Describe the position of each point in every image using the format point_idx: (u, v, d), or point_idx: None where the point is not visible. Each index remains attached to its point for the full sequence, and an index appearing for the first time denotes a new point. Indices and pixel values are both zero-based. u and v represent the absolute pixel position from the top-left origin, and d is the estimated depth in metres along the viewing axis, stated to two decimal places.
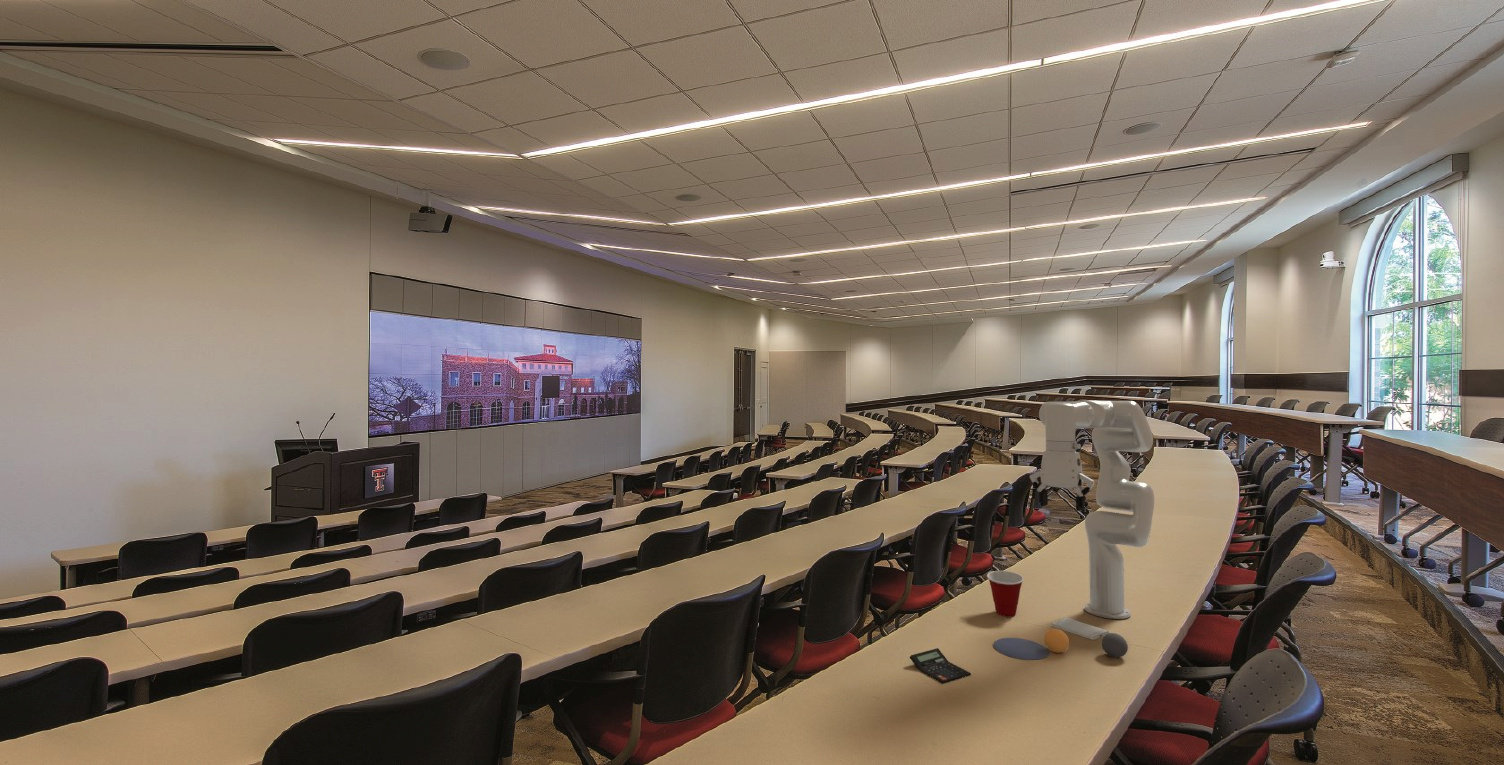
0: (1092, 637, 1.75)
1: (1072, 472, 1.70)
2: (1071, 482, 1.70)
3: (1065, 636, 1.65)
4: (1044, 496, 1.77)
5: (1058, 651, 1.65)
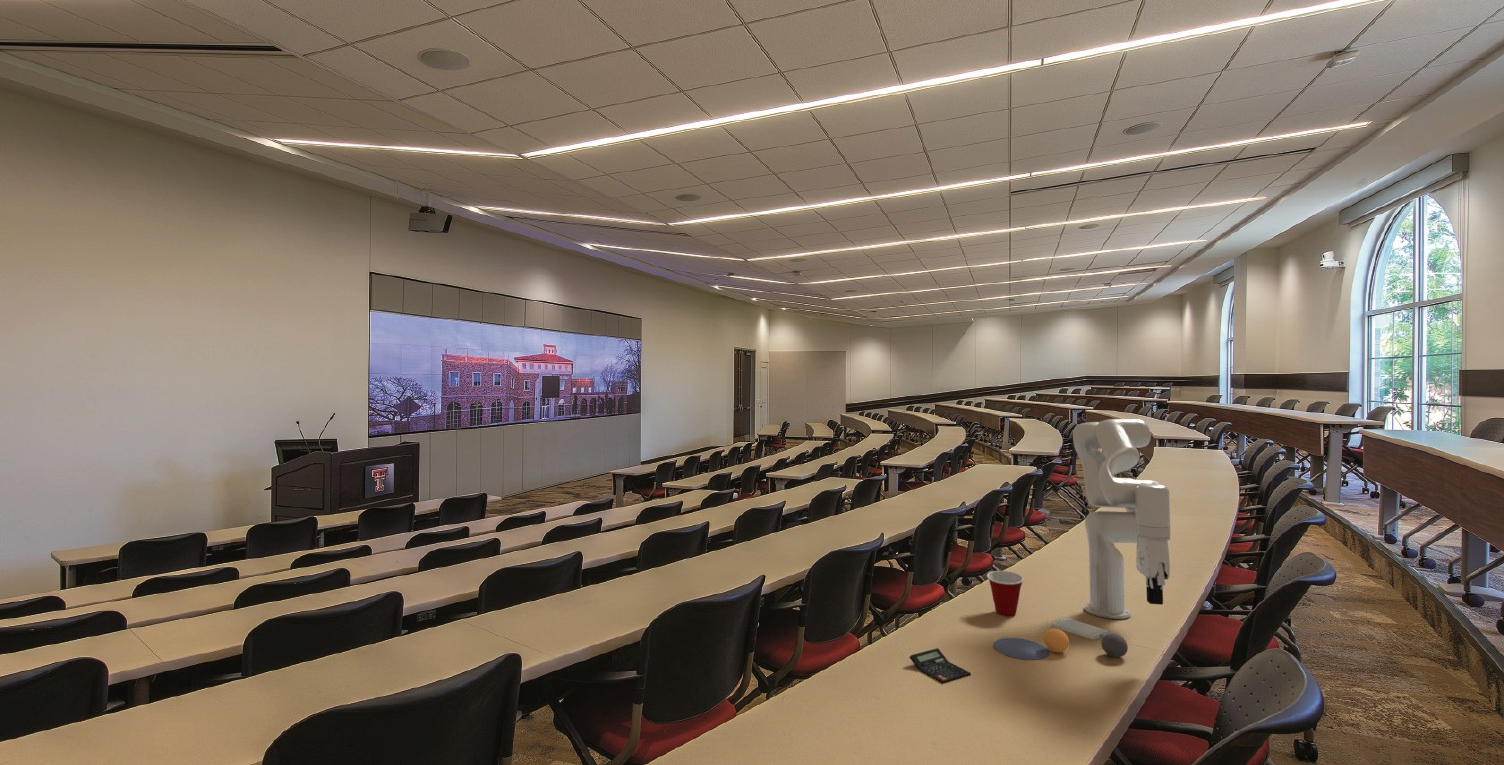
0: (1092, 637, 1.75)
1: None
2: None
3: (1065, 636, 1.65)
4: None
5: (1058, 651, 1.65)
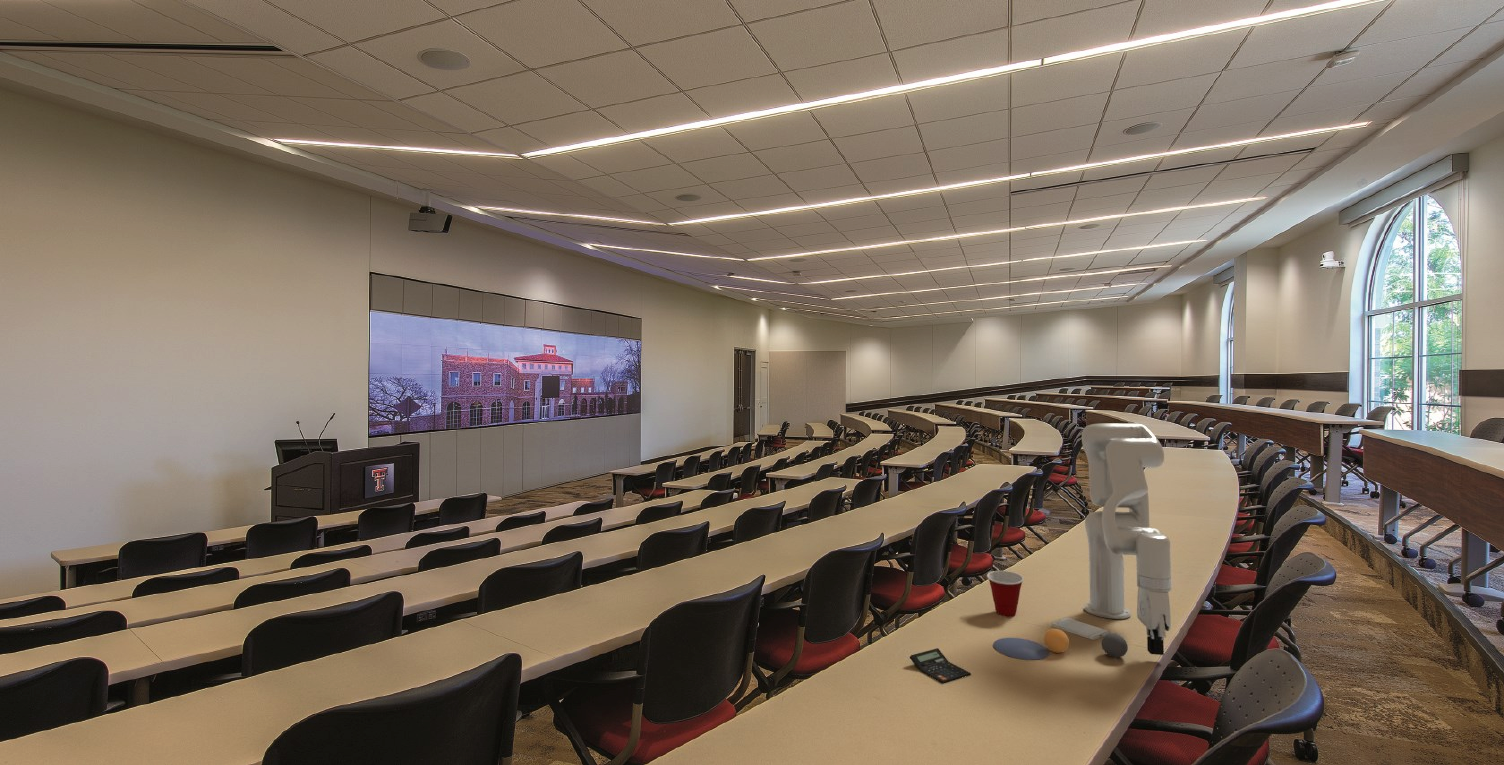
0: (1092, 637, 1.75)
1: None
2: None
3: (1065, 636, 1.65)
4: None
5: (1058, 651, 1.65)
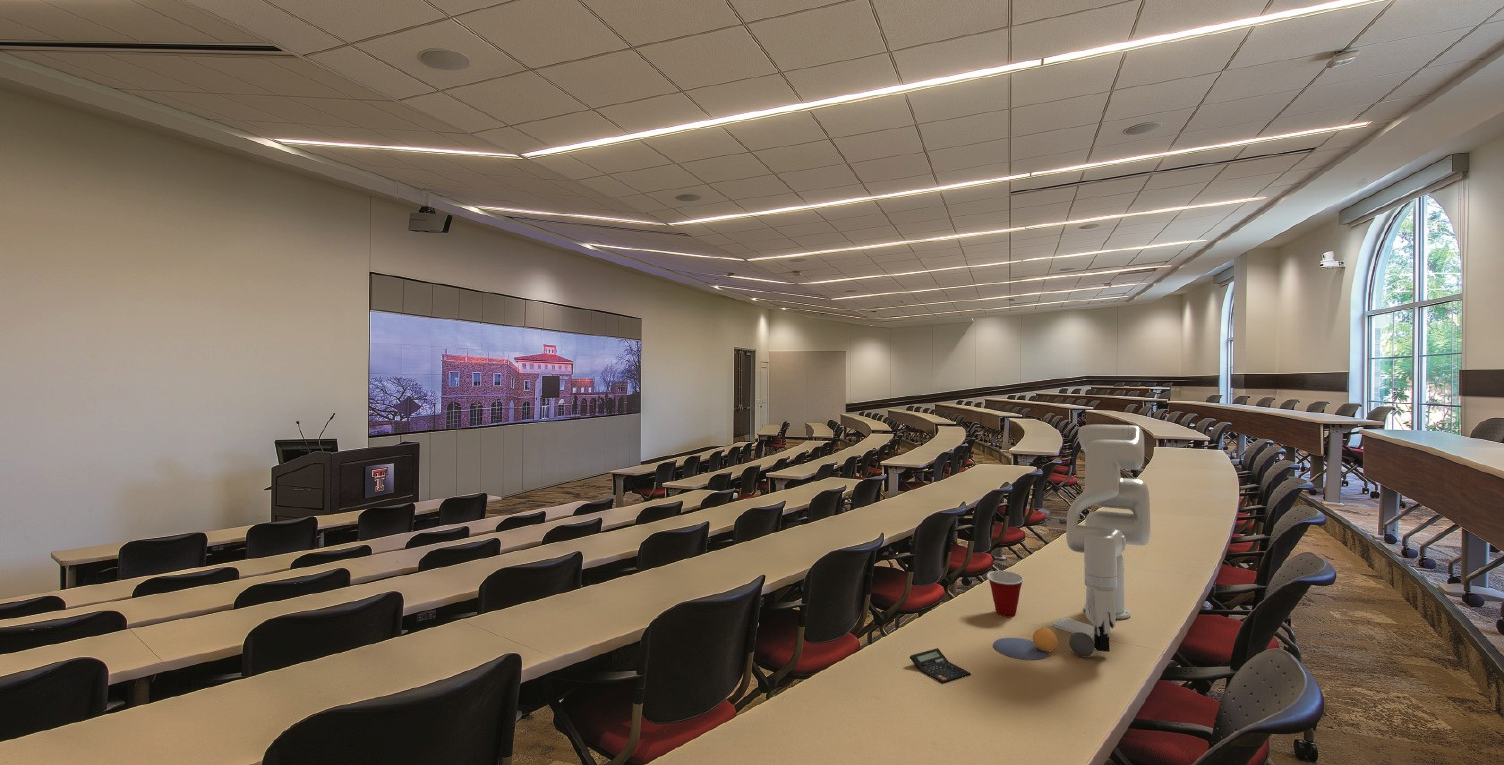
0: (1092, 637, 1.75)
1: None
2: None
3: (1044, 631, 1.66)
4: None
5: (1053, 647, 1.65)
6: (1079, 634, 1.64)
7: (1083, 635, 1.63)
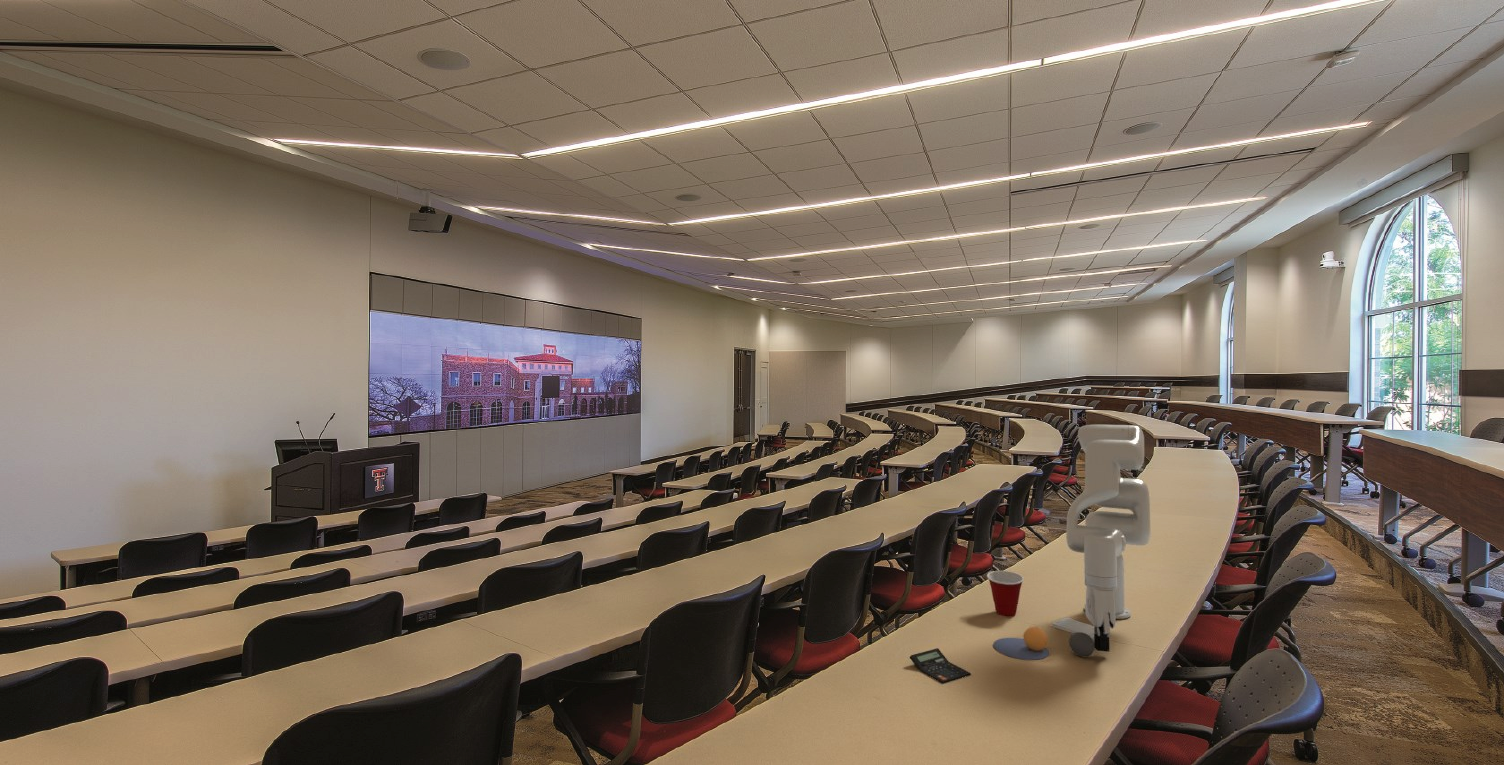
0: (1092, 637, 1.75)
1: None
2: None
3: (1028, 634, 1.67)
4: None
5: (1045, 641, 1.66)
6: (1079, 634, 1.64)
7: (1083, 635, 1.63)
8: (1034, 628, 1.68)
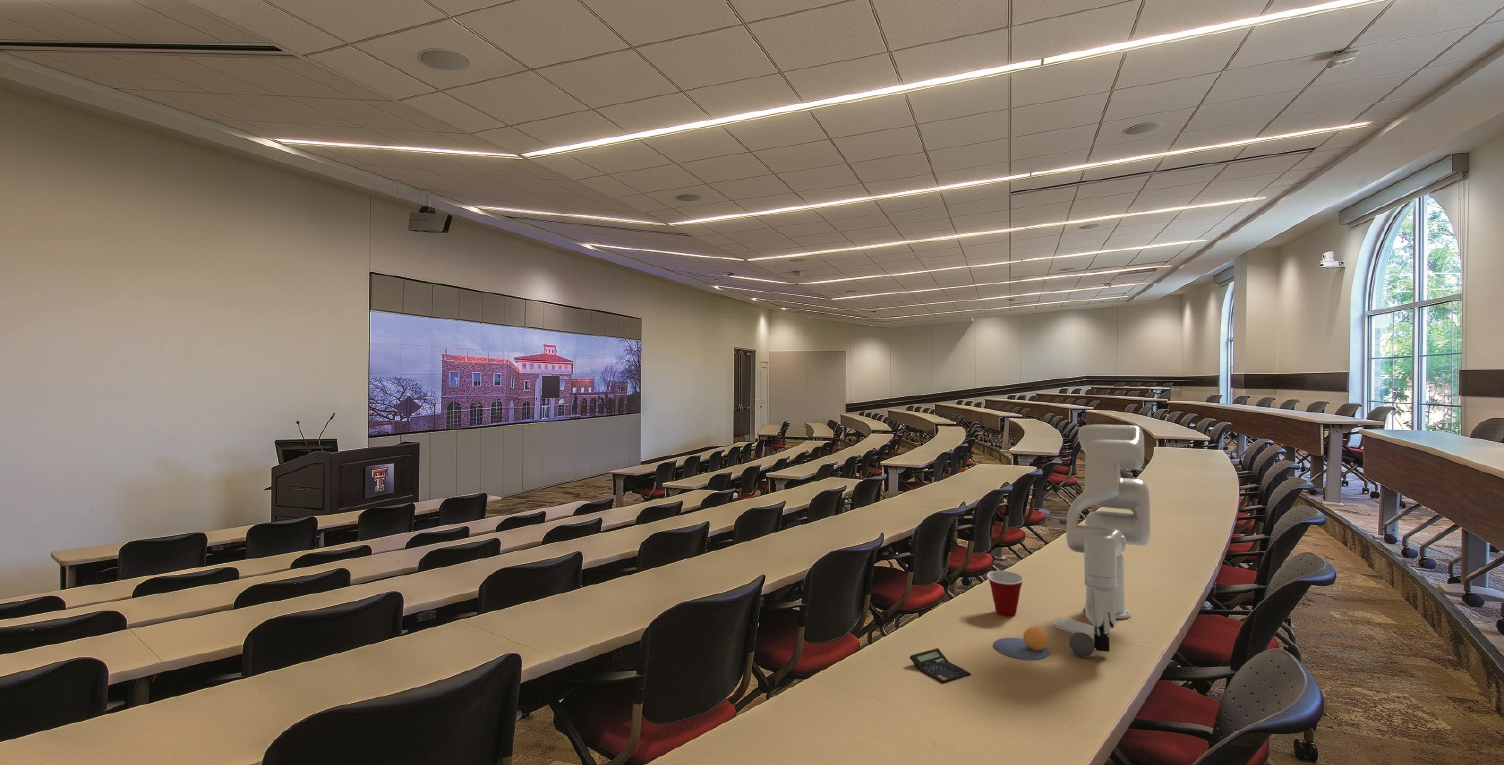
0: (1092, 637, 1.75)
1: None
2: None
3: (1028, 634, 1.67)
4: None
5: (1045, 641, 1.66)
6: (1079, 634, 1.64)
7: (1083, 635, 1.63)
8: (1034, 628, 1.68)
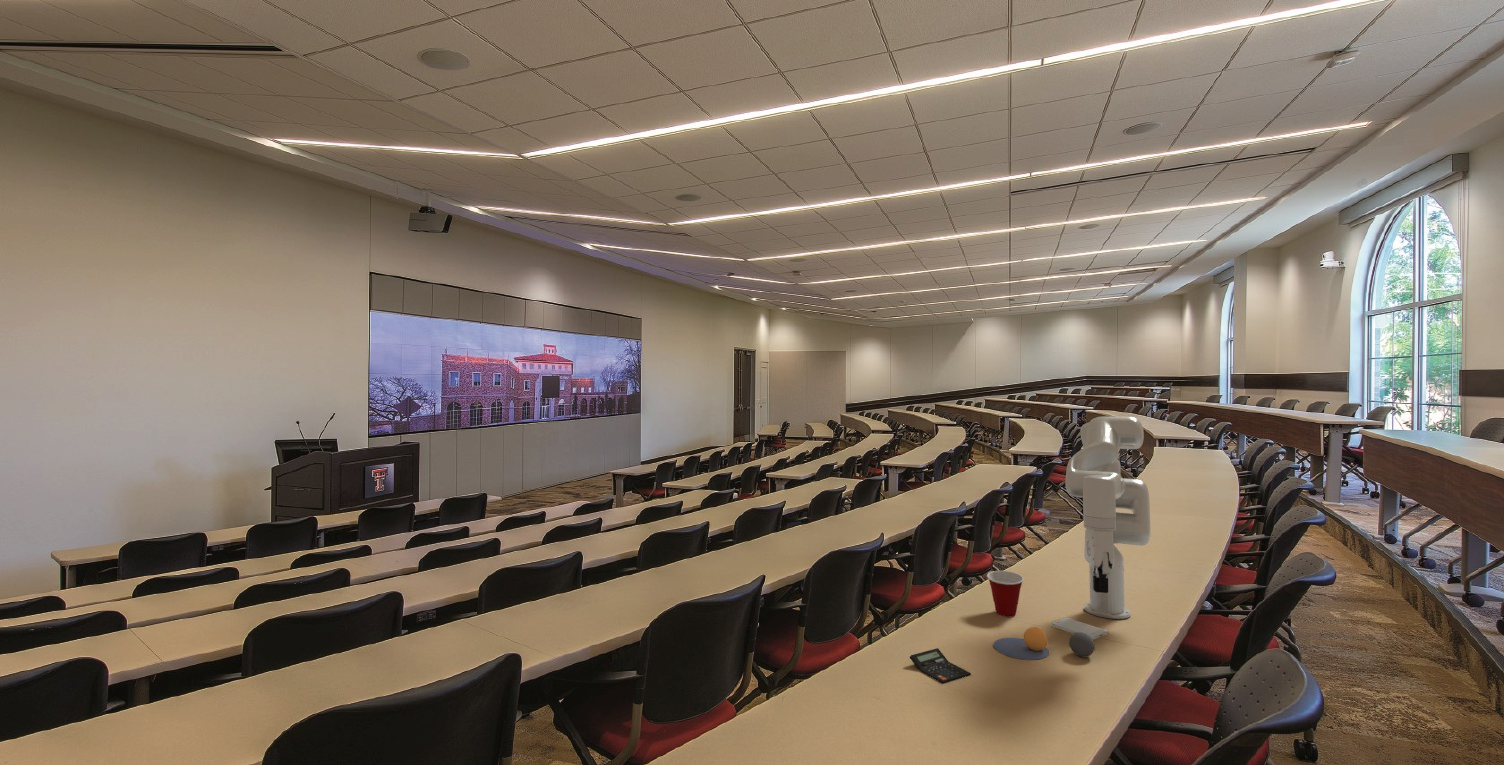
0: (1092, 637, 1.75)
1: None
2: None
3: (1028, 634, 1.67)
4: None
5: (1045, 641, 1.66)
6: (1079, 634, 1.64)
7: (1083, 635, 1.63)
8: (1034, 628, 1.68)
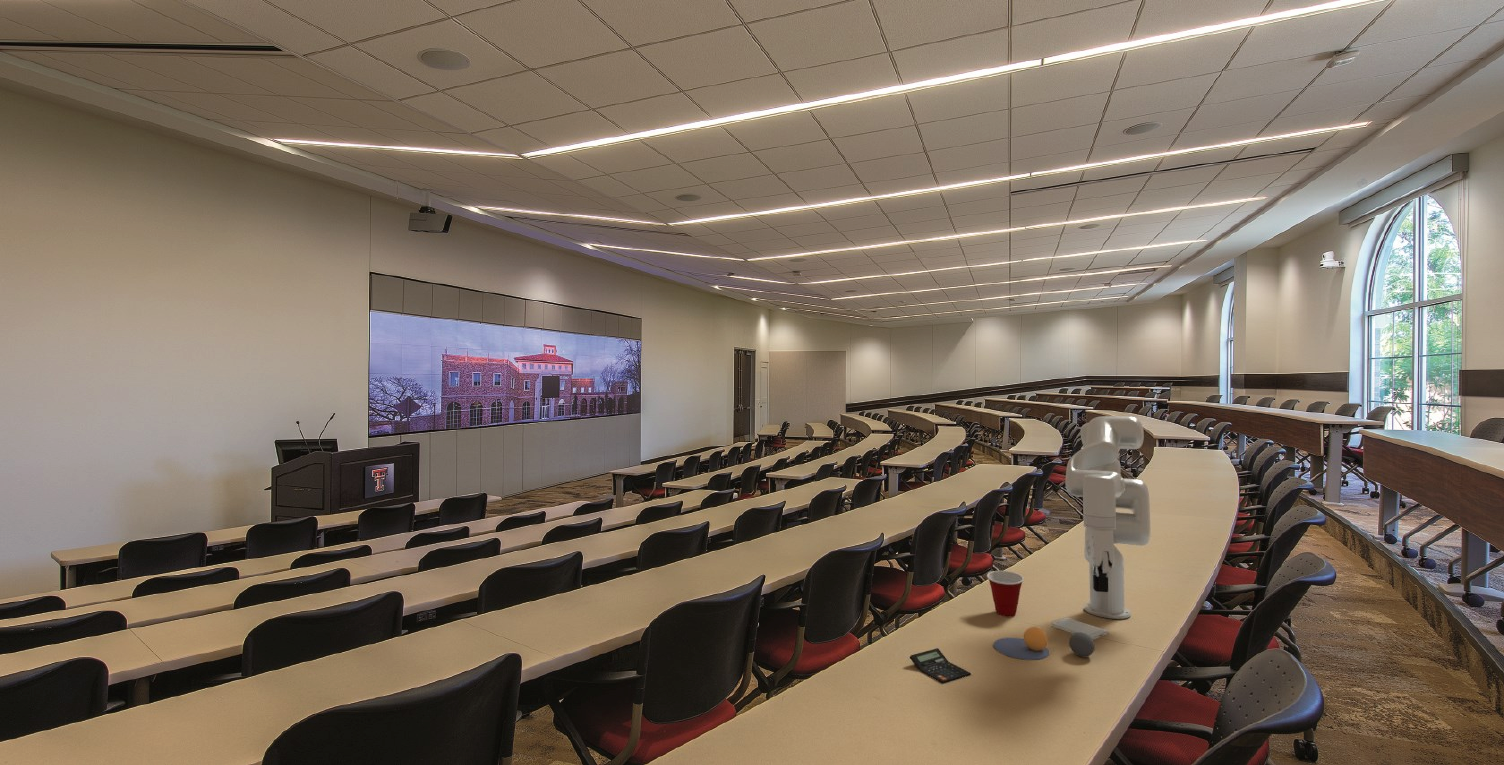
0: (1092, 637, 1.75)
1: None
2: None
3: (1028, 634, 1.67)
4: None
5: (1045, 641, 1.66)
6: (1079, 634, 1.64)
7: (1083, 635, 1.63)
8: (1034, 628, 1.68)
